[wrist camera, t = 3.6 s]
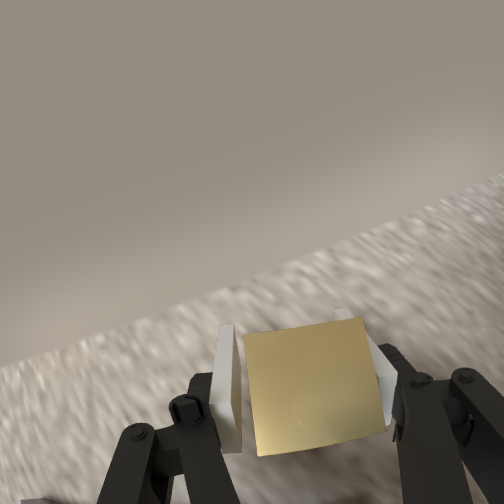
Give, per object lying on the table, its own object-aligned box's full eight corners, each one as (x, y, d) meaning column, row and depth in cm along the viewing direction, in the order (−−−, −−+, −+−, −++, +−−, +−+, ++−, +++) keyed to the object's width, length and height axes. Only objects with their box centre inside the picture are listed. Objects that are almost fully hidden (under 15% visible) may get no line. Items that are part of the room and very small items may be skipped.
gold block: (317, 379, 19) (362, 316, 9) (326, 434, 17) (387, 430, 7) (259, 387, 18) (243, 334, 9) (266, 443, 17) (258, 456, 7)
